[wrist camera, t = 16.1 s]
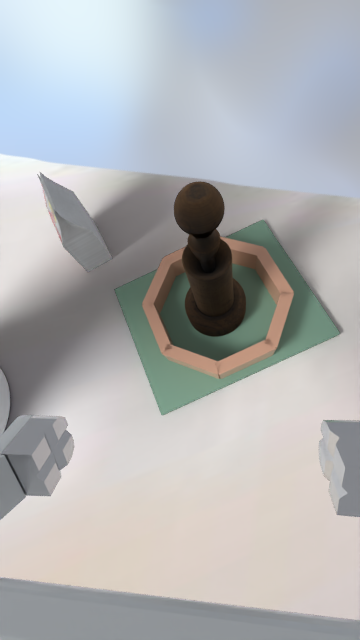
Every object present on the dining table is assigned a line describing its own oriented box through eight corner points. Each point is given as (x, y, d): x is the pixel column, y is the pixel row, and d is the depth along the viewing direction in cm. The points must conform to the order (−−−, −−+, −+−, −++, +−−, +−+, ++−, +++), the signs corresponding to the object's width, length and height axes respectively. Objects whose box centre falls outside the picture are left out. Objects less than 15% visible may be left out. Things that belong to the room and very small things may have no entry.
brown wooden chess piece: (192, 280, 35) (152, 148, 18) (248, 284, 34) (261, 145, 17) (183, 333, 33) (129, 241, 16) (242, 340, 32) (250, 246, 15)
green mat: (162, 415, 31) (161, 415, 31) (116, 291, 37) (114, 289, 36) (338, 335, 31) (340, 333, 30) (262, 222, 37) (263, 219, 36)
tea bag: (94, 222, 41) (53, 164, 32) (112, 258, 39) (73, 206, 29) (71, 235, 41) (23, 180, 32) (87, 272, 39) (41, 224, 29)
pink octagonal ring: (183, 396, 31) (178, 393, 28) (137, 284, 36) (128, 273, 33) (310, 338, 30) (318, 329, 28) (245, 234, 36) (246, 218, 33)
